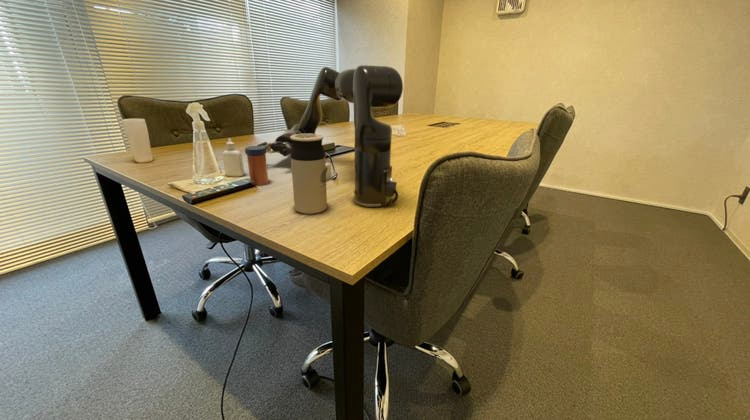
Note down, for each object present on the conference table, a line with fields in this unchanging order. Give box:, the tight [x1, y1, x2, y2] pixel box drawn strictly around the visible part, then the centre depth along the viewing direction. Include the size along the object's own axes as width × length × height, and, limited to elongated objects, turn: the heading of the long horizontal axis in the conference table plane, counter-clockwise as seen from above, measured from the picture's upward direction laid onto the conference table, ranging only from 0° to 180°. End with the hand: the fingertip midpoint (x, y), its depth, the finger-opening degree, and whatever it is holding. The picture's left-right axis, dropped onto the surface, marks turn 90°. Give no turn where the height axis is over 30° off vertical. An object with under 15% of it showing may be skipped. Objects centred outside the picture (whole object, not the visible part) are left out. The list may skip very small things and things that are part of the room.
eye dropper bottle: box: [221, 137, 245, 178], centre depth 98 cm, size 4×6×12 cm
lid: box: [244, 145, 267, 156], centre depth 90 cm, size 6×6×2 cm
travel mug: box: [289, 133, 328, 215], centre depth 73 cm, size 8×8×18 cm
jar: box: [246, 154, 270, 186], centre depth 92 cm, size 5×5×10 cm
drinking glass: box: [121, 118, 154, 164], centre depth 110 cm, size 7×7×15 cm
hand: (271, 152), depth 101 cm, fingers open, 8 cm apart
